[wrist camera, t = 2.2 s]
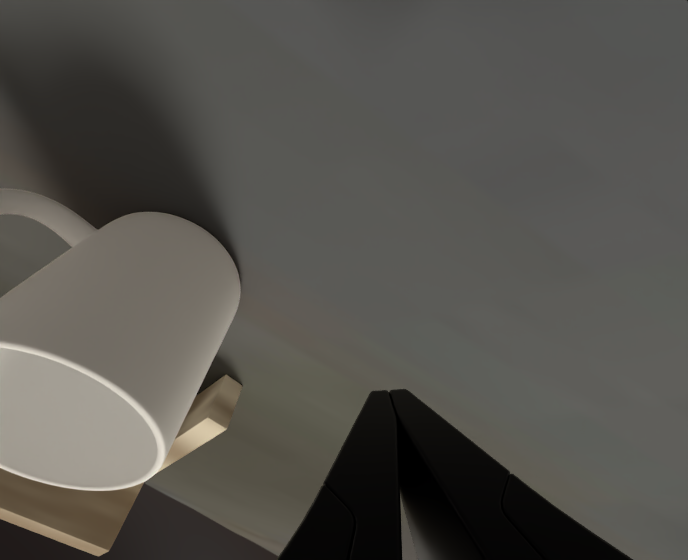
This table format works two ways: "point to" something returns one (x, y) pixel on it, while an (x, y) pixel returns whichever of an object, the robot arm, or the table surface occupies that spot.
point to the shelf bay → (112, 505)
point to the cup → (108, 344)
